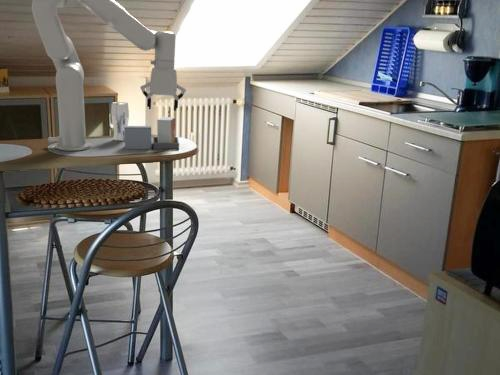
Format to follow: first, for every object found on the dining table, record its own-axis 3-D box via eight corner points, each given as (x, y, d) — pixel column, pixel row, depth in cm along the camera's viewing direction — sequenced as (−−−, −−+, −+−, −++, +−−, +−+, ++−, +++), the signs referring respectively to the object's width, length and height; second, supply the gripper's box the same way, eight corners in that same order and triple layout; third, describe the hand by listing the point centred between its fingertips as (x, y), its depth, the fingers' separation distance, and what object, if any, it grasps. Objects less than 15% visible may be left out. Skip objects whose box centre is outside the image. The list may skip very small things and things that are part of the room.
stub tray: (152, 149, 231) (152, 143, 230) (152, 143, 242) (152, 137, 242) (178, 149, 232) (178, 143, 232) (177, 143, 244) (177, 137, 243)
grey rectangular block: (125, 148, 231) (124, 127, 228) (125, 146, 235) (125, 125, 233) (151, 148, 232) (151, 127, 230) (151, 146, 237) (151, 125, 235)
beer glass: (130, 138, 250) (129, 102, 246) (128, 141, 244) (127, 104, 240) (114, 137, 250) (112, 101, 246) (110, 141, 243) (109, 104, 239)
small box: (171, 147, 233) (171, 120, 230) (157, 146, 234) (156, 119, 231) (176, 143, 241) (175, 116, 238) (162, 142, 241) (161, 116, 238)
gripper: (140, 63, 224) (139, 109, 228) (187, 67, 226) (185, 112, 231) (141, 62, 231) (139, 106, 235) (186, 65, 234) (184, 109, 238)
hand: (162, 109), depth 233 cm, fingers open, 9 cm apart
